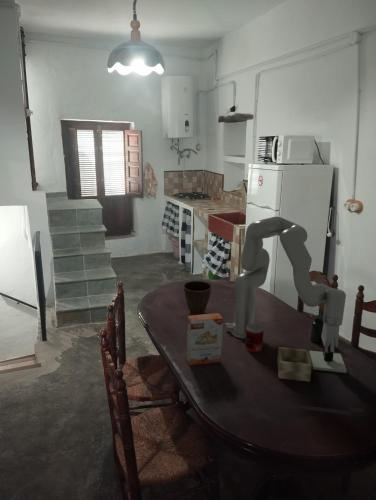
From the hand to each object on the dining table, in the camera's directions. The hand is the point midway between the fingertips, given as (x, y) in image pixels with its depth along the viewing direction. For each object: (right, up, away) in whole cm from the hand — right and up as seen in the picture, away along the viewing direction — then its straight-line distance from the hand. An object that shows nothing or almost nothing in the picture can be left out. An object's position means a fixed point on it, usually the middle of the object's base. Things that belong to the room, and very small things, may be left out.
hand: (327, 357), depth 163 cm
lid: (0, -2, +1) cm, 2 cm away
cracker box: (-52, -2, +3) cm, 53 cm away
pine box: (-16, -5, -5) cm, 18 cm away
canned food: (-29, 0, +13) cm, 32 cm away
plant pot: (-54, +11, +49) cm, 74 cm away
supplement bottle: (+3, +2, +22) cm, 22 cm away
